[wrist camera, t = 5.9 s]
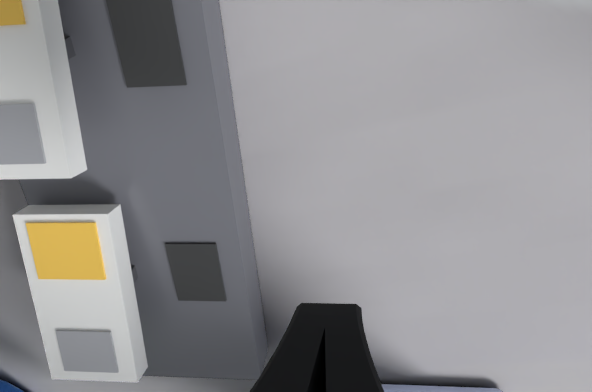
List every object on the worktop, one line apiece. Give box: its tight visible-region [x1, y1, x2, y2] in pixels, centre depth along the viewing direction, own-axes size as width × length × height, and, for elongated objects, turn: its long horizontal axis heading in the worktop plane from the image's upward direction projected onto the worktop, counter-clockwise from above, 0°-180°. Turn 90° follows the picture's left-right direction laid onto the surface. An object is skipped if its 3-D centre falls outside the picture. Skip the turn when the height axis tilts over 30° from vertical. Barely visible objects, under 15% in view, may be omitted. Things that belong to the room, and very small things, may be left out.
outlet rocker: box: [0, 0, 87, 180], centre depth 16 cm, size 7×4×1 cm, turn 4°
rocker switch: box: [13, 204, 148, 383], centre depth 21 cm, size 7×4×1 cm, turn 4°
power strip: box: [19, 0, 268, 380], centre depth 20 cm, size 21×8×3 cm, turn 4°
